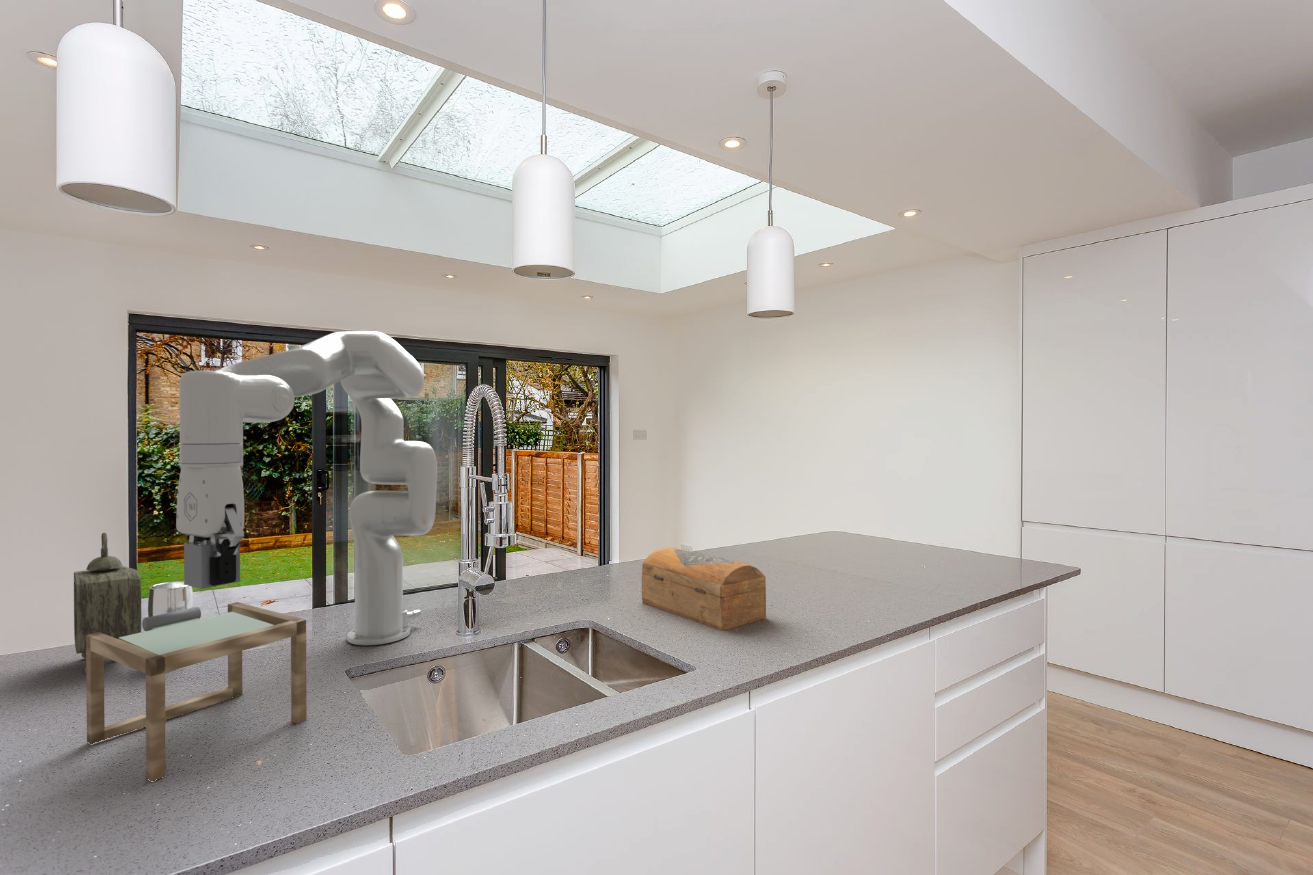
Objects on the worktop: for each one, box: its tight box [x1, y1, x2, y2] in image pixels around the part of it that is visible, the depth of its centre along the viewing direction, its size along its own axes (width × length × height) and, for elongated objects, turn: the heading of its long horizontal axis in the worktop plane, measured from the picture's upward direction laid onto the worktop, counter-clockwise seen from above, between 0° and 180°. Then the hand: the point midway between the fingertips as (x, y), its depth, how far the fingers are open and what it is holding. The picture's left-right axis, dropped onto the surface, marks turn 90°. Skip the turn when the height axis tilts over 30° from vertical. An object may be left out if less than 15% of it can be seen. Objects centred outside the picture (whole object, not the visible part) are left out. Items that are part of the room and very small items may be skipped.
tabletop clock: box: [73, 532, 142, 673], centre depth 121 cm, size 14×9×25 cm, turn 45°
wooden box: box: [641, 547, 767, 631], centre depth 157 cm, size 30×16×14 cm, turn 38°
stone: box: [183, 539, 241, 590], centre depth 91 cm, size 5×5×6 cm
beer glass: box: [147, 580, 195, 617], centre depth 121 cm, size 7×7×15 cm
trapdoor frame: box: [85, 601, 308, 782], centre depth 93 cm, size 20×20×16 cm
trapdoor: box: [119, 606, 273, 655], centre depth 94 cm, size 15×17×2 cm
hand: (212, 579), depth 92 cm, fingers closed on stone, 5 cm apart
